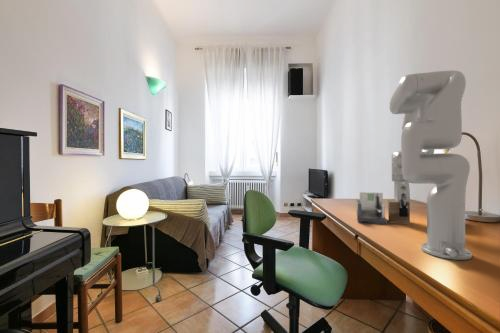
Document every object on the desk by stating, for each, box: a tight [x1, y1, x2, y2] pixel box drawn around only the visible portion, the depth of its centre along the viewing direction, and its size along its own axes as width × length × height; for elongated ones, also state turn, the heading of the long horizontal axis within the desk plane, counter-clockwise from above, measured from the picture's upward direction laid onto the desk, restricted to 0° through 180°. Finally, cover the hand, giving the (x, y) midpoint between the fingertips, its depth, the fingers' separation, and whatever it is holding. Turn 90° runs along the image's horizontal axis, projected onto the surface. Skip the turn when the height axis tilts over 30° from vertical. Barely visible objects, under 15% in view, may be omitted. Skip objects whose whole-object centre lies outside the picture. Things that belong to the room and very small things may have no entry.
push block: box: [387, 199, 411, 225], centre depth 116 cm, size 4×8×10 cm, turn 69°
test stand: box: [356, 191, 387, 225], centre depth 120 cm, size 12×12×13 cm
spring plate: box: [377, 203, 386, 218], centre depth 119 cm, size 8×3×6 cm, turn 159°
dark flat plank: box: [377, 196, 379, 217], centre depth 122 cm, size 2×1×10 cm, turn 159°
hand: (401, 214), depth 116 cm, fingers open, 9 cm apart
